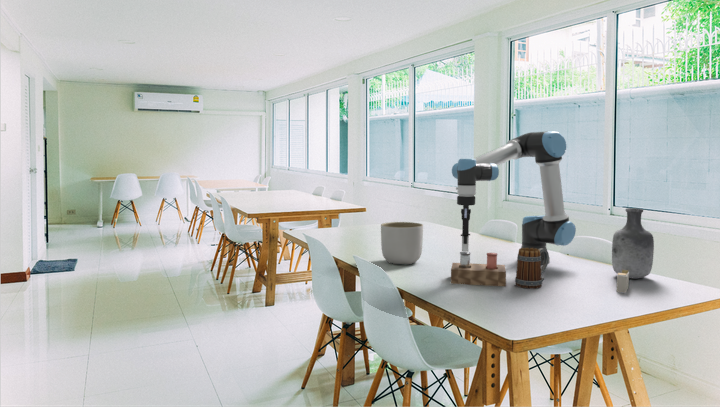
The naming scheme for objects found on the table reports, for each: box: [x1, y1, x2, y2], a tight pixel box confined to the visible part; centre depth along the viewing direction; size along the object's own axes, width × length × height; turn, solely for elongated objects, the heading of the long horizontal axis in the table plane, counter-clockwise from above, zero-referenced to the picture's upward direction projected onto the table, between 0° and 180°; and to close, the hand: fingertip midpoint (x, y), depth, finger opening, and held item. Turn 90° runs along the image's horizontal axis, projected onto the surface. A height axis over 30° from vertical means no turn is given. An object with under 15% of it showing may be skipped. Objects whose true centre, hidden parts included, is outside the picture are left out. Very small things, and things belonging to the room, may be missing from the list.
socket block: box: [450, 262, 507, 287], centre depth 223 cm, size 22×14×6 cm, turn 77°
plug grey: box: [459, 251, 472, 268], centre depth 224 cm, size 4×4×9 cm
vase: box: [611, 207, 655, 280], centre depth 228 cm, size 16×16×30 cm
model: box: [616, 269, 630, 294], centre depth 209 cm, size 3×11×8 cm, turn 148°
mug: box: [514, 247, 550, 290], centre depth 216 cm, size 16×11×15 cm
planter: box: [380, 221, 424, 265], centre depth 261 cm, size 21×21×19 cm
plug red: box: [486, 252, 498, 269], centre depth 221 cm, size 4×4×9 cm
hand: (465, 251), depth 223 cm, fingers closed
